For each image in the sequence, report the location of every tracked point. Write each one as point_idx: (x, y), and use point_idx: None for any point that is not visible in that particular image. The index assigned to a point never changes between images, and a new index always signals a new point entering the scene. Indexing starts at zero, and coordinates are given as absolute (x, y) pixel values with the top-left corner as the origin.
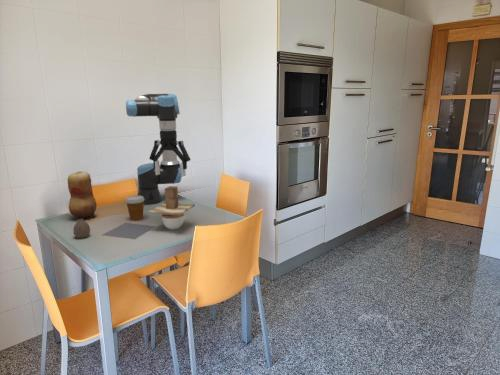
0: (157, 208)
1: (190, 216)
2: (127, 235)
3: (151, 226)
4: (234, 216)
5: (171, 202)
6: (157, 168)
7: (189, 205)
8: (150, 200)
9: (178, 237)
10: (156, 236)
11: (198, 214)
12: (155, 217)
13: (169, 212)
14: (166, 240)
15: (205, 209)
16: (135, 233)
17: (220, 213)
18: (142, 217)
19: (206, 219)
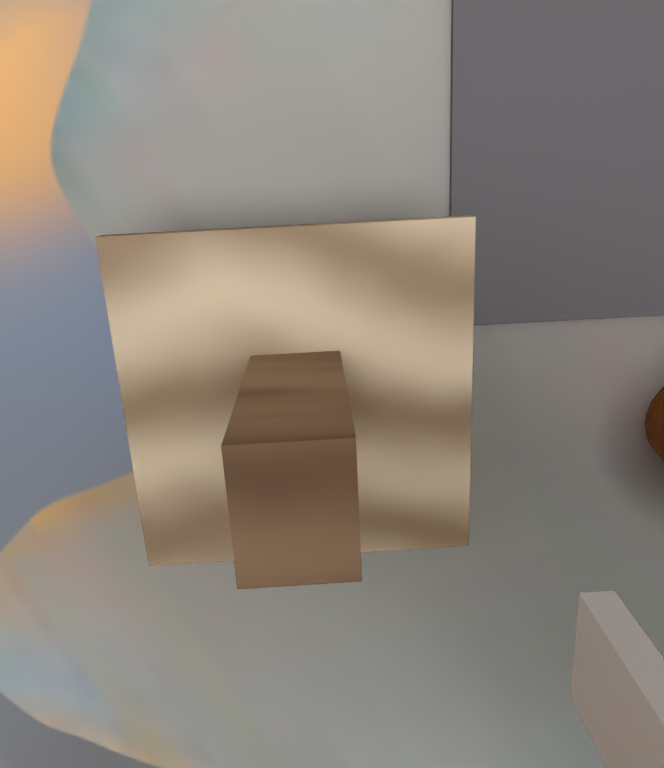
0: (438, 334)
1: (320, 601)
2: (565, 43)
3: (483, 303)
4: (16, 693)
5: (266, 377)
6: (648, 739)
7: (173, 516)
8: None
9: (144, 170)
10: (326, 129)
11: (286, 654)
12: (569, 504)
13: (227, 243)
14: (196, 74)
15: (296, 755)
16: (523, 111)
17: (146, 716)
18: (653, 437)
19: (170, 582)
